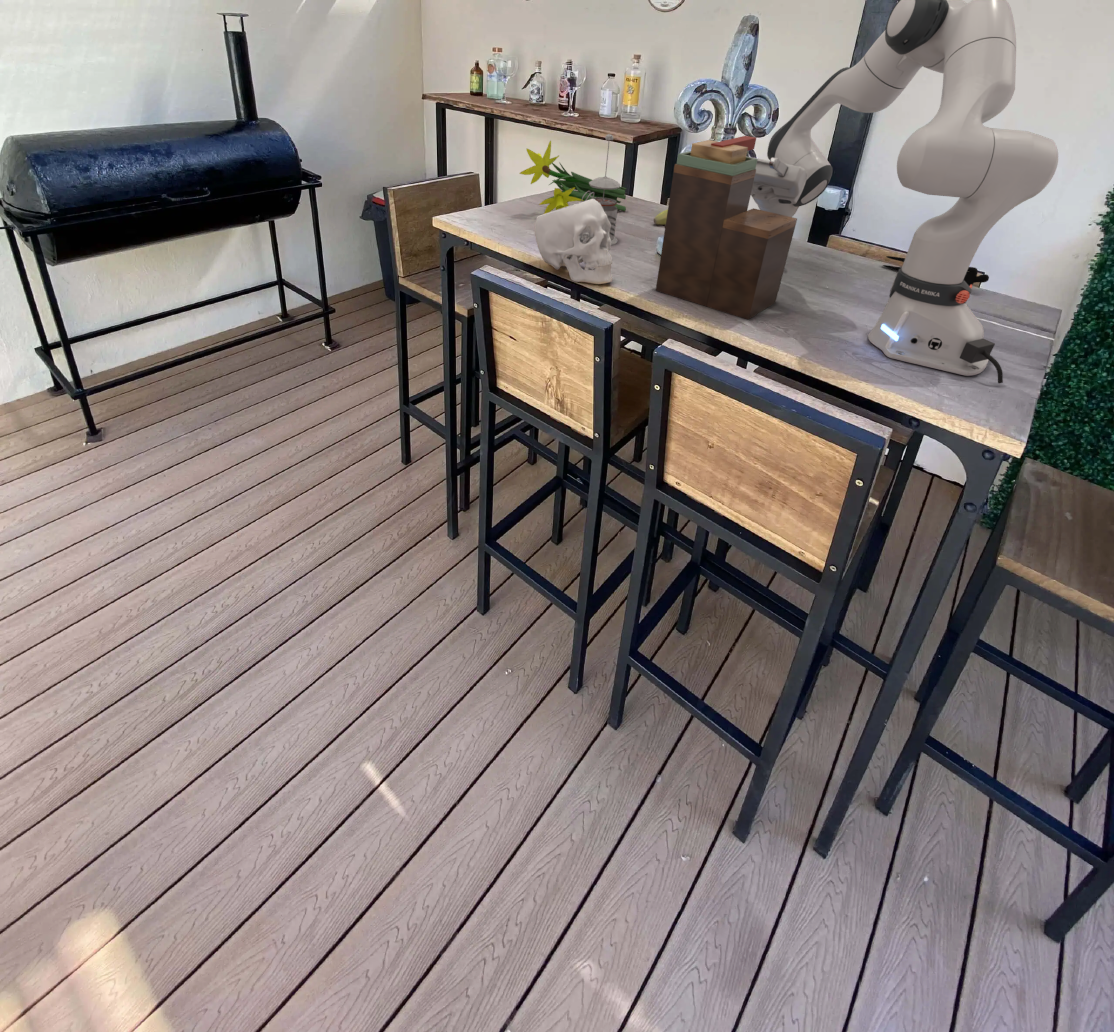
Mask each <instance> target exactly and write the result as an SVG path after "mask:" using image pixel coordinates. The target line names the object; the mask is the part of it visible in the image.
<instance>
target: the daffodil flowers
mask: <svg viewBox="0 0 1114 1032" xmlns="http://www.w3.org/2000/svg"><path fill="white" fill-rule="evenodd" d="M526 153H527V156H528V157H529V158H530V160H531V161H532V163H534V165H531V166H530V167H528V168H526V169H524V170H521V171H520V172H519V175H525V176H529V175H530V176H531V175H533V176H532V178H531V181H530V185H533V184H535V183H536V182H538V181H539V180H540V179H541V177H542V176H543V177H545V178H547V179H548V178H549V177H550V176H551V177H554V178H557V179H554V178H553V180H552V182H550V183H549V184H548V186H550V185H552V184H556V186H557V187H555V188H554V190H553V195H552V196H550V197H548V198H545V199H543V200H542V202H540V203H539V204H538V206H543V205H547V206H546V207H545V209H544V213H543V214H546V213H549V212H552V211H554V210H558V209H561V208H564V207H567V206H570V205H569V203H571V202H581V200H582V197H583V195H584V194H585V193H586V192H587V191H590V192H591V193H592V192H594V193H592V194H591V196H592V197H593V194H594V197H593V198H595V197H599V198H600V197H603V193H604V198H608V199H613V200H616V201H617V204H616V205H613V206H615V207H617V211H622V212H626V211H627V208H626V206H625V205H621V202H622V201H621V200H618V199H622V200H626V198H627V195H626V190H627V188H626V187H623V186H620V188H618V189H610V190H607V189H605V191H604V189H597V188H593V187H591V186H590V185H589V182H590V181H592V180H593V179H592V178H588V177H586V176H583V175H581V174H578V173H576V172H574V171H570V173H571V174H570V173H569V172H568V171H567V170H566V169H565V168H564V166H563V165H562V163H561V162H560V161H558V163H559V165H560V167H561V168H560V167H559V166H558V165H556V164H555V163H554V162H555V161H556V160H557V159H558V158H559V157H560V155H557V156H554V157H551V153H552V140H549V142H548V145H547V147H546V150H545V151H544V153H543V156H542V154H541V152H535V151H533V150H531V149H529V148H526ZM550 165H552V166H553V167H554V168H555V170H556V171H554V170H553V169H551V168H550ZM590 192H587V193H586V194H585V196H584V197H583V200H582V202H583V201H585V200H586V199H587V197H588V195H589V194H590ZM592 197H590V196H589V197H588V199H587V200H590V199H591V198H592Z"/></svg>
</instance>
